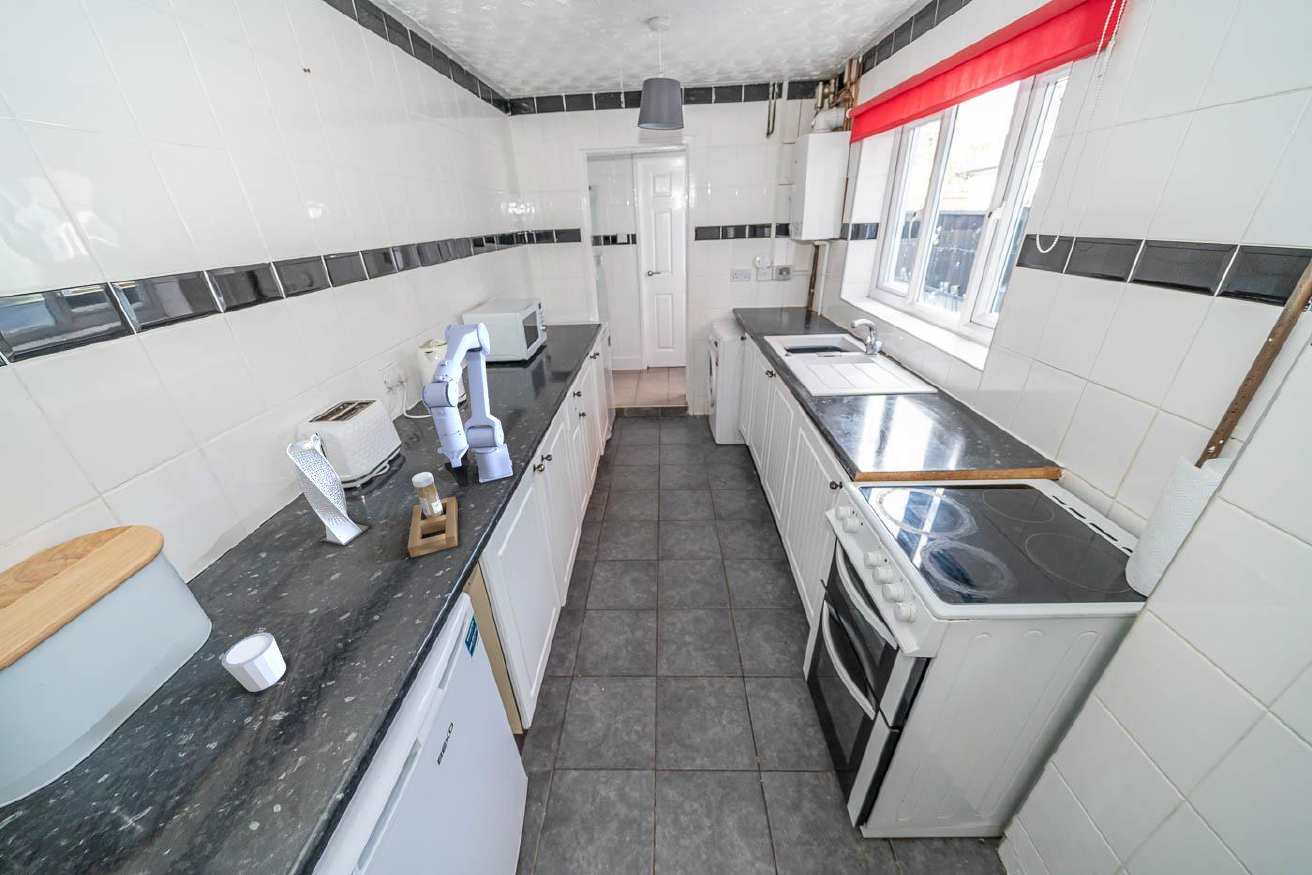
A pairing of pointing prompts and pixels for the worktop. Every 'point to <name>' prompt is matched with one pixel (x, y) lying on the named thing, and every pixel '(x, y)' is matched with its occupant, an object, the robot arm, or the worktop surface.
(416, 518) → the holder
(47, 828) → the worktop surface
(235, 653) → the white faceted cup
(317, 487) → the skyscraper
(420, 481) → the sprinkles bottle
